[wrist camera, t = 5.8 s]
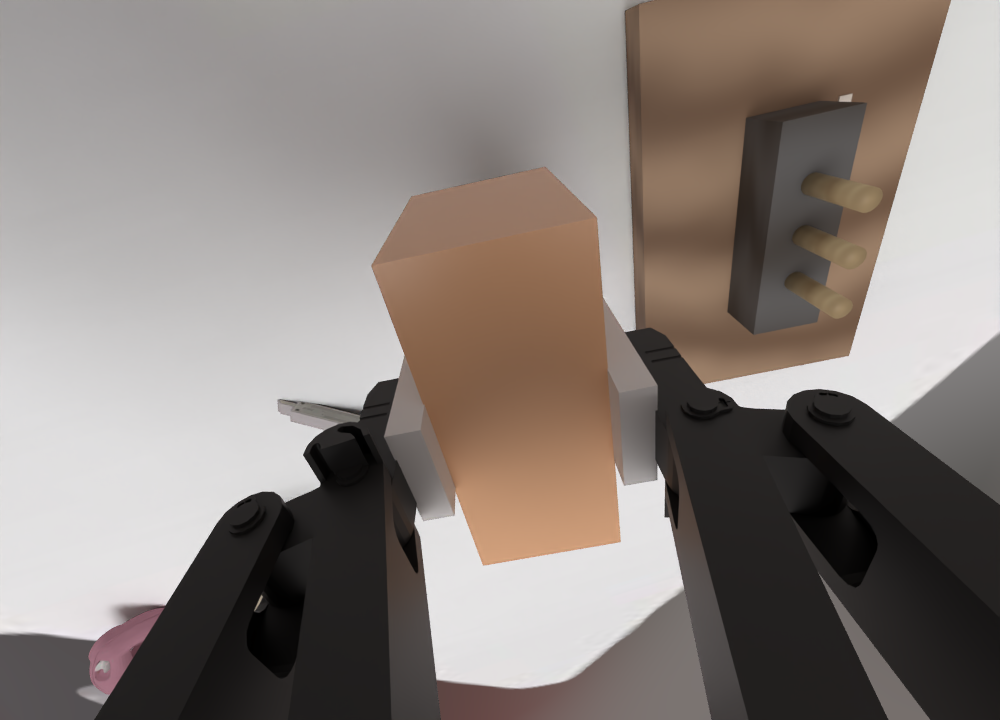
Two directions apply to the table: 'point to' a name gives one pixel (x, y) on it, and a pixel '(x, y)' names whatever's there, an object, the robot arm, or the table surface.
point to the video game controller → (119, 649)
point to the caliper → (315, 414)
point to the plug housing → (510, 357)
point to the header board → (705, 152)
